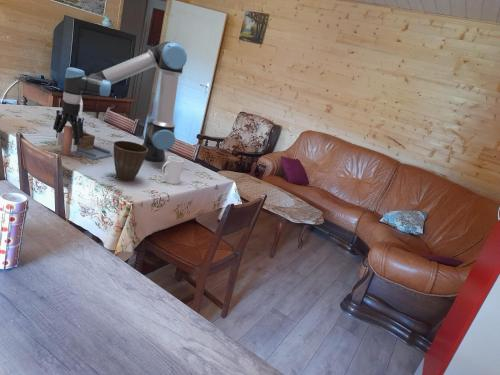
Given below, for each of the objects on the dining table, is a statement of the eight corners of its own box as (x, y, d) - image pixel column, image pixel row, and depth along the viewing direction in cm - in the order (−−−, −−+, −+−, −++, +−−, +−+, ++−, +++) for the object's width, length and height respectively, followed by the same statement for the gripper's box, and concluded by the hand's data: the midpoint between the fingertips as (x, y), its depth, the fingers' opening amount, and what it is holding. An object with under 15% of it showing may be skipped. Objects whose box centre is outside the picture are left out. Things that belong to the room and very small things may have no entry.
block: (93, 148, 186) (95, 136, 184) (82, 150, 179) (84, 137, 176) (80, 143, 187) (82, 131, 185) (69, 145, 180) (71, 132, 178)
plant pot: (147, 183, 165) (154, 152, 160) (118, 185, 154) (124, 151, 149) (131, 171, 174) (137, 141, 169) (102, 172, 162) (107, 140, 157)
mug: (163, 185, 169) (168, 162, 165) (153, 178, 174) (158, 155, 170) (182, 183, 178) (187, 161, 175) (172, 177, 183) (177, 155, 179)
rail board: (112, 156, 187) (114, 141, 185) (94, 160, 174) (96, 145, 172) (81, 144, 191) (83, 130, 189) (61, 147, 178) (63, 132, 175)
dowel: (71, 154, 172) (74, 127, 168) (65, 156, 169) (69, 128, 165) (65, 152, 173) (68, 125, 169) (59, 153, 170) (62, 125, 165)
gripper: (95, 108, 165) (89, 153, 172) (59, 95, 168) (54, 140, 175) (84, 108, 158) (78, 156, 165) (47, 95, 161) (42, 142, 168)
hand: (66, 148), depth 170 cm, fingers open, 8 cm apart
